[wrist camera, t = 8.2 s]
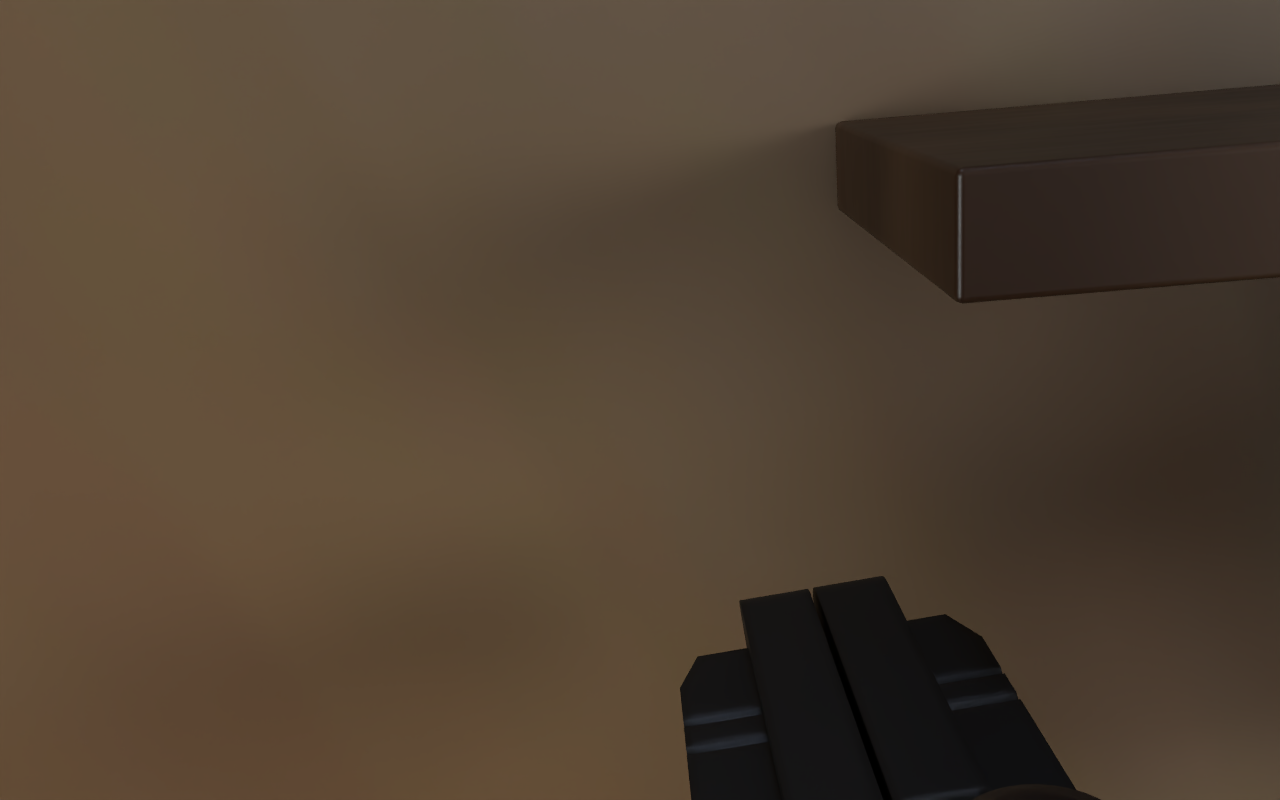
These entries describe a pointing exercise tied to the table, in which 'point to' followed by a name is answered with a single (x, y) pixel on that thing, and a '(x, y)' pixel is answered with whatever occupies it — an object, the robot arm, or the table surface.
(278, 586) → the table surface
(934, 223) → the dark brown tray
